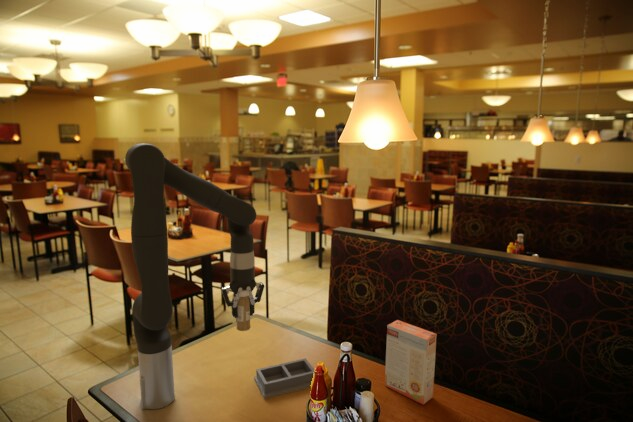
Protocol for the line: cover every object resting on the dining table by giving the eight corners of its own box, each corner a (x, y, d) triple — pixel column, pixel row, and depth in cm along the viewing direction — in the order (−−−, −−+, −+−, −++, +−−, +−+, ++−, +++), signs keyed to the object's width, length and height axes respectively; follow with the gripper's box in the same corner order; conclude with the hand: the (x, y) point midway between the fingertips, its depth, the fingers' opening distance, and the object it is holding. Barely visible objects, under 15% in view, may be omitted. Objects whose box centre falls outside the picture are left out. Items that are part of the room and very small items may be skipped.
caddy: (264, 398, 126) (264, 386, 125) (254, 379, 136) (254, 368, 135) (319, 384, 133) (319, 373, 132) (305, 367, 143) (305, 356, 142)
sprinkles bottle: (252, 329, 135) (252, 289, 132) (239, 332, 132) (238, 292, 130) (246, 324, 138) (246, 285, 136) (233, 327, 136) (233, 287, 134)
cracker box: (433, 397, 127) (437, 333, 123) (423, 406, 123) (427, 340, 119) (394, 378, 137) (397, 318, 133) (383, 386, 133) (386, 324, 129)
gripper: (221, 270, 125) (223, 324, 128) (267, 265, 131) (268, 317, 134) (217, 263, 132) (218, 314, 135) (261, 259, 138) (261, 308, 141)
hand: (243, 315), depth 135 cm, fingers closed on sprinkles bottle, 4 cm apart
